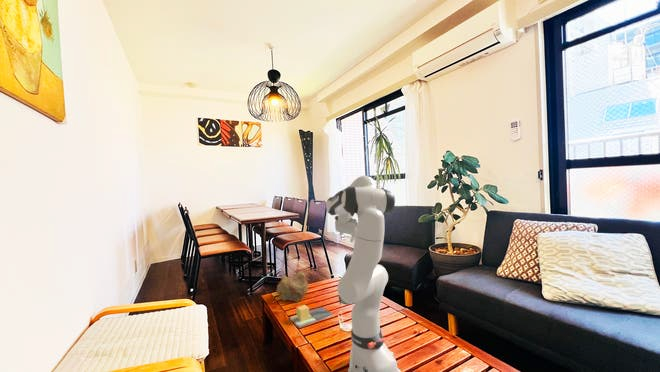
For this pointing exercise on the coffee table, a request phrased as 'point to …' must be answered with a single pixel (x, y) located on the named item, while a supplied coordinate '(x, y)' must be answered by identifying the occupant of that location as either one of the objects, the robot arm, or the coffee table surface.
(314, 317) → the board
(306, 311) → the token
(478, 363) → the coffee table surface
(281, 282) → the rough brown rock
